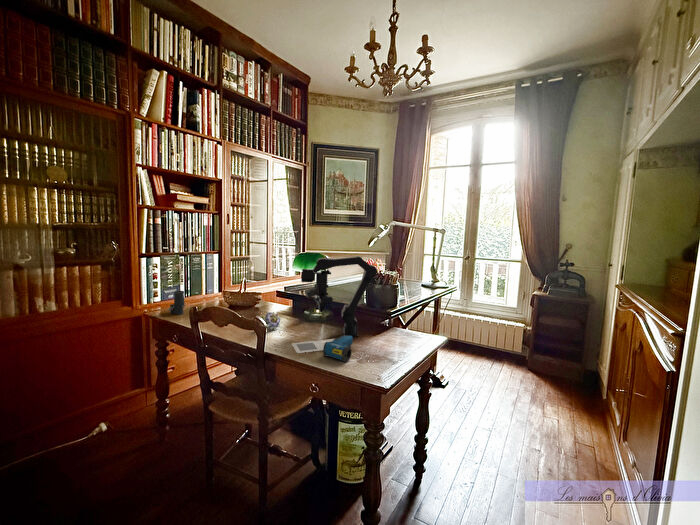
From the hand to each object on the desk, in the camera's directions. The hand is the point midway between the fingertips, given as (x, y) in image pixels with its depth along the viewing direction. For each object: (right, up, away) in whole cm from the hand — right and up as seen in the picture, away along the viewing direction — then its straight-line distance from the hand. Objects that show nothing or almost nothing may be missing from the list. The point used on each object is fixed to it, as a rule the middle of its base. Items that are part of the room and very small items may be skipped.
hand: (320, 312), depth 164 cm
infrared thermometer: (+12, -15, -20) cm, 28 cm away
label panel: (0, -14, -13) cm, 19 cm away
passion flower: (-28, -10, +8) cm, 31 cm away
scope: (-89, -6, +29) cm, 94 cm away
